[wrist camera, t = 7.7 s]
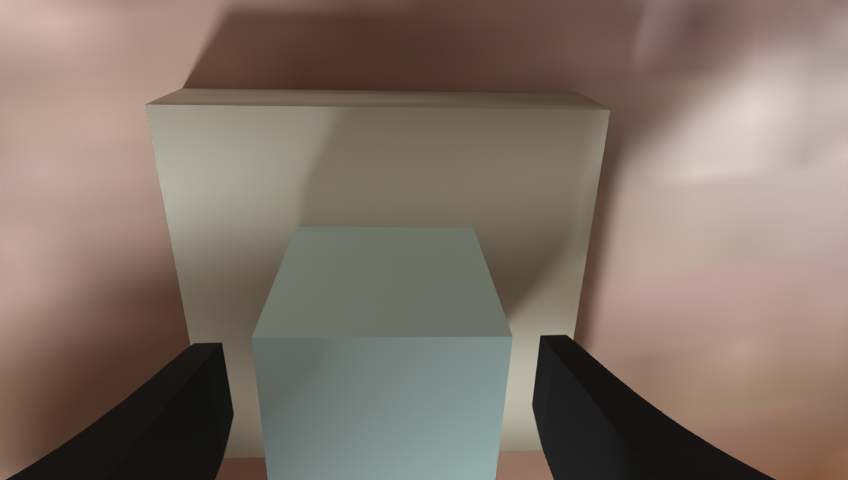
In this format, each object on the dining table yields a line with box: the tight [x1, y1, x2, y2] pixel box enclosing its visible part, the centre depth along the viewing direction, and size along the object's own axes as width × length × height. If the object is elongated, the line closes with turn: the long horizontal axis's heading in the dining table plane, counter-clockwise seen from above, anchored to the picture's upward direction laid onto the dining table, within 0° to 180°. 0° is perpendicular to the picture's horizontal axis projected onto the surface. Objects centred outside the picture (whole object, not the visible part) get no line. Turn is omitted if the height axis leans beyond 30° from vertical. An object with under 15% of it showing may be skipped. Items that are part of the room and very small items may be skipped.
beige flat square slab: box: [145, 88, 610, 459], centre depth 16 cm, size 11×11×3 cm
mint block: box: [252, 226, 513, 480], centre depth 13 cm, size 5×5×5 cm
